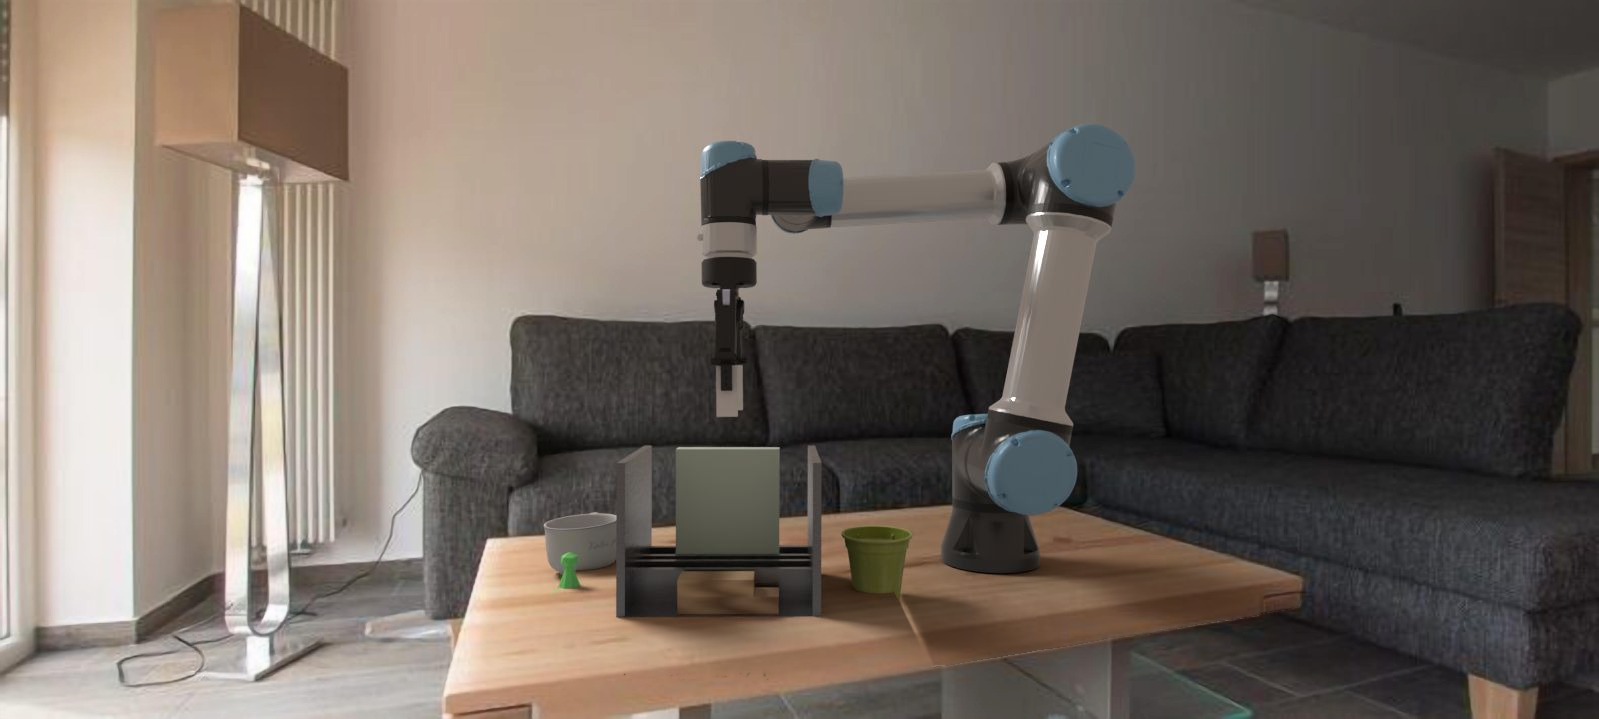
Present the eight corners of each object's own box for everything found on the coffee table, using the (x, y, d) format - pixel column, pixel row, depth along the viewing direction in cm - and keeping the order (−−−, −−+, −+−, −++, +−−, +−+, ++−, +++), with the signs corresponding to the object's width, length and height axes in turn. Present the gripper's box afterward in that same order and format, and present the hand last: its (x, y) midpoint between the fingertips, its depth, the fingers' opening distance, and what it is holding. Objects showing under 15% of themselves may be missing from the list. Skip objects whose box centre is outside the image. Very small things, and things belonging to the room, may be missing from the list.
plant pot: (903, 611, 102) (903, 542, 102) (832, 603, 106) (832, 537, 106) (919, 592, 111) (919, 528, 111) (852, 585, 114) (852, 523, 115)
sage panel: (779, 577, 113) (779, 447, 113) (779, 582, 110) (779, 449, 110) (677, 577, 113) (678, 447, 113) (675, 582, 110) (676, 449, 110)
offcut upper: (754, 587, 101) (754, 571, 101) (753, 596, 97) (753, 580, 97) (681, 587, 100) (681, 571, 100) (677, 597, 96) (677, 580, 96)
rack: (814, 583, 115) (814, 445, 115) (821, 628, 96) (821, 462, 96) (644, 583, 115) (644, 445, 115) (616, 629, 95) (616, 463, 95)
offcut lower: (778, 603, 101) (778, 587, 101) (778, 613, 97) (778, 596, 97) (681, 603, 100) (681, 587, 100) (677, 614, 96) (677, 597, 96)
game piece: (547, 595, 109) (548, 550, 109) (579, 590, 112) (579, 546, 112) (558, 603, 106) (558, 557, 106) (590, 598, 108) (590, 553, 108)
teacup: (599, 584, 115) (599, 527, 115) (529, 580, 117) (529, 524, 117) (638, 560, 128) (638, 509, 128) (575, 557, 130) (575, 507, 130)
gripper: (709, 268, 124) (711, 408, 124) (691, 245, 99) (693, 420, 99) (759, 268, 124) (760, 407, 124) (753, 245, 99) (754, 419, 99)
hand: (730, 413), depth 112 cm, fingers open, 13 cm apart
